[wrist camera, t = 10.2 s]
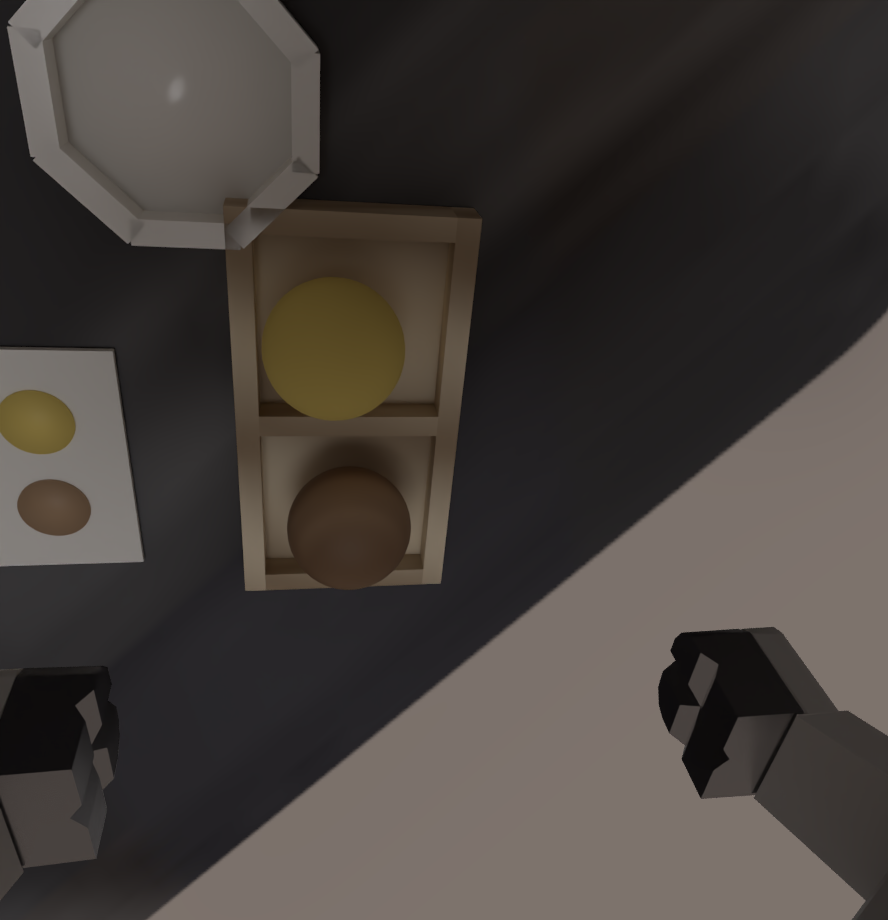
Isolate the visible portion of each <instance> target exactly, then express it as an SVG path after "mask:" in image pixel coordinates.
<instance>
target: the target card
mask: <svg viewBox="0 0 888 920" xmlns="http://www.w3.org/2000/svg"><path fill="white" fill-rule="evenodd" d="M119 562H144V552H143V545H142V538H141V531H140V524H139V517H138V510H137V503H136V496H135V490H134V483H133V476H132V469H131V462H130V455H129V448H128V441H127V434H126V427H125V421H124V414H123V407H122V400H121V393H120V386H119V379H118V372H117V365H116V358H115V352H114V349H104V348H46V347H0V566H23V565H55V564H87V563H119Z"/></svg>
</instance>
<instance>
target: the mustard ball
mask: <svg viewBox="0 0 888 920" xmlns="http://www.w3.org/2000/svg"><path fill="white" fill-rule="evenodd" d="M262 360H263V364H264V368H265V371H266V374H267V376H268V379H269V381H270V382H271V384H272V386H273V387H274V389H275V390H276V392H277V393H278V394H279V395H280V397H281V398H282V399H283V400H284V401H286V402H287V403H288V404H289V405H290V406H292V407H293V408H294V409H296V410H298V411H299V412H301V413H303V414H306V415H308V416H310V417H313V418H317V419H321V420H329V421H340V420H348V419H353V418H356V417H359V416H361V415H364V414H366V413H368V412H370V411H372V410H373V409H375V408H376V407H377V406H379V405H380V404H381V403H382V402H383V401H384V400H385V399H386V398H387V397H388V396H389V395H390V394H391V392H392V391H393V389H394V388H395V386H396V384H397V383H398V381H399V378H400V376H401V373H402V369H403V366H404V361H405V340H404V334H403V331H402V327H401V325H400V322H399V320H398V318H397V316H396V314H395V312H394V311H393V309H392V308H391V306H390V305H389V304H388V302H387V301H386V300H385V299H384V298H383V297H382V296H381V295H379V294H378V293H377V292H376V291H374V290H373V289H371V288H370V287H368V286H366V285H364V284H362V283H360V282H357V281H354V280H351V279H347V278H341V277H322V278H317V279H313V280H310V281H307V282H304V283H302V284H300V285H298V286H296V287H294V288H293V289H292V290H290V291H289V292H288V293H286V294H285V295H284V296H283V297H282V298H281V299H280V300H279V301H278V302H277V304H276V305H275V307H274V308H273V309H272V311H271V313H270V315H269V316H268V318H267V321H266V324H265V327H264V330H263V335H262Z"/></svg>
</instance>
